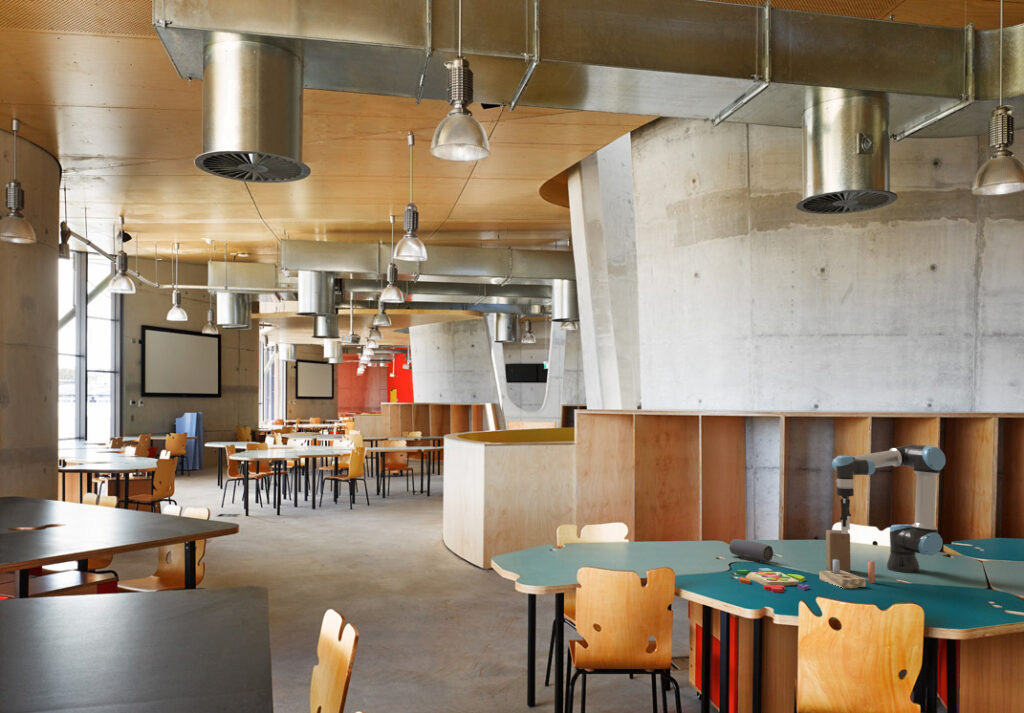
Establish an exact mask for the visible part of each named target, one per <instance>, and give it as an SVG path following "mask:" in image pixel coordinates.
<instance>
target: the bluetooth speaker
mask: <svg viewBox="0 0 1024 713" xmlns="http://www.w3.org/2000/svg"><path fill="white" fill-rule="evenodd" d="M728 549H729V551H730V553H731V554H732V555H735V556H739V557H741V558H742V559H744V560H748V561H752V562H761V561H762V562H769V561H771V560H772V559H773V557H774V549H773V547H772V546H771V545H768V544H765V543H761V542H756V541H752V540H745V539H740V538H734V539H732V540H730V543H729V547H728Z"/></svg>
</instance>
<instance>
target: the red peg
mask: <svg viewBox="0 0 1024 713" xmlns="http://www.w3.org/2000/svg"><path fill="white" fill-rule="evenodd" d="M875 564H876V562H875V561H872V560H868V561H867V583H868V584H871V583H875V584H876V566H875Z"/></svg>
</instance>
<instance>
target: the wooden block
mask: <svg viewBox="0 0 1024 713" xmlns="http://www.w3.org/2000/svg"><path fill="white" fill-rule="evenodd" d="M833 560H839V565H840V570H842V571H845V572H848V573H850V574H851V534H850V533H849V532H848V534H842V533H841V530H840V529H839V530H838V529H836V530H835V529H826V530H825V564H826V565H825V566H826V569H827V571H833Z"/></svg>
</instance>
